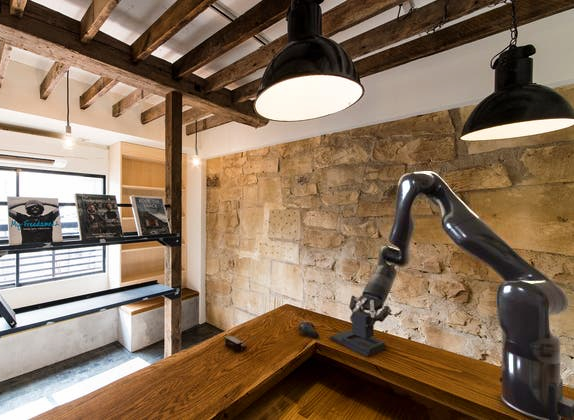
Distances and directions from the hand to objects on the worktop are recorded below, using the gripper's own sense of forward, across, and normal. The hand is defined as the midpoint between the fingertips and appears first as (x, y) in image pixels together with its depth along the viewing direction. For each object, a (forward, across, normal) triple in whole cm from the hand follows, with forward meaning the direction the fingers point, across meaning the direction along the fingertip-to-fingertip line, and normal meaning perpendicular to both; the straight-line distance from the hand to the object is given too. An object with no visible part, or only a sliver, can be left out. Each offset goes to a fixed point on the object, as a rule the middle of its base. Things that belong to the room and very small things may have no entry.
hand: (359, 324), depth 96 cm
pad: (+5, -2, +7) cm, 9 cm away
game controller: (+11, -17, +1) cm, 20 cm away
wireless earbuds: (+35, -21, -23) cm, 47 cm away
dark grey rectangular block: (+2, 0, +4) cm, 5 cm away
